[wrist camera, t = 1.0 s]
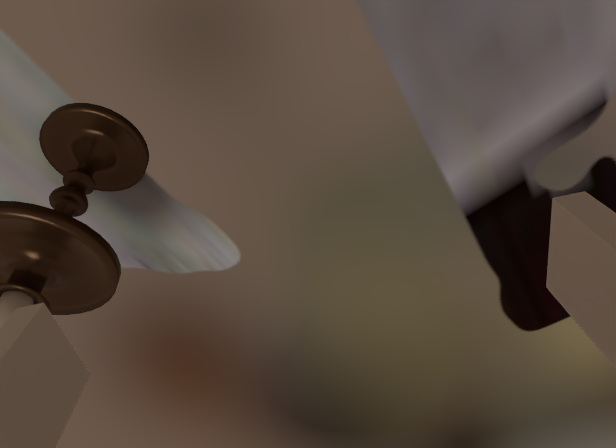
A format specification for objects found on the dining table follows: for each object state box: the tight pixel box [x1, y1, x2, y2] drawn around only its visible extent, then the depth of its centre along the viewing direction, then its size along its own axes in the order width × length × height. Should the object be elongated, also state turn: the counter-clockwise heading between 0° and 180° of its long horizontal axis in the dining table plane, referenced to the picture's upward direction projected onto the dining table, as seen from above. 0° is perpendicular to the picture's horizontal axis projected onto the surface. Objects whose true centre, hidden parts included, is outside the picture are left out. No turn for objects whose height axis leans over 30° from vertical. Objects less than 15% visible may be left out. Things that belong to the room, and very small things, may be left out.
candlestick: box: [0, 103, 149, 328], centre depth 27 cm, size 11×11×35 cm
